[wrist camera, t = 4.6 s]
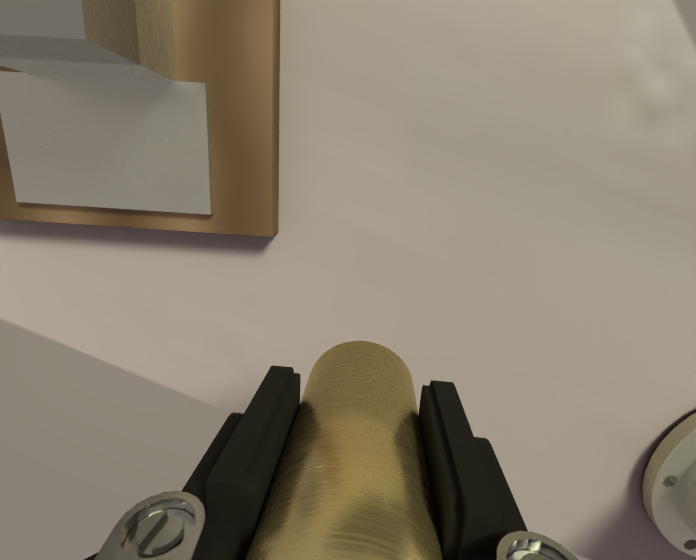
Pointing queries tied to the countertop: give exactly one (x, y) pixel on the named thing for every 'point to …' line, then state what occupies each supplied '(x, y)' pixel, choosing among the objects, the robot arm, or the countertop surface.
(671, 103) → the countertop surface
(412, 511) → the hinge pin
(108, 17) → the grey stepped block
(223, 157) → the walnut board
